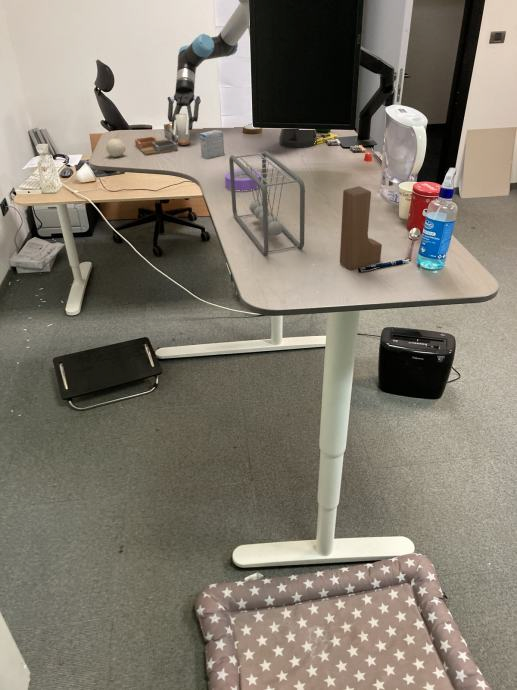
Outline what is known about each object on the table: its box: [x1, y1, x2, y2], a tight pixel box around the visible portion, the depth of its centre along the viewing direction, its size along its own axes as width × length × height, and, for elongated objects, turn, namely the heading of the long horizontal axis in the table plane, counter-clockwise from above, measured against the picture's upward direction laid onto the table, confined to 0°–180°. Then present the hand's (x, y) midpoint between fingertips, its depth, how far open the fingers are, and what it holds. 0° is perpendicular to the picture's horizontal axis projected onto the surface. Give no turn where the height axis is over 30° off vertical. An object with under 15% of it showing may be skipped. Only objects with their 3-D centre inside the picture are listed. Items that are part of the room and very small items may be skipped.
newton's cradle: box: [228, 150, 306, 256], centre depth 141 cm, size 30×10×18 cm, turn 18°
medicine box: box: [199, 129, 225, 160], centre depth 206 cm, size 8×4×9 cm, turn 128°
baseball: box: [105, 138, 126, 158], centre depth 211 cm, size 7×7×7 cm
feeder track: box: [163, 122, 178, 143], centre depth 231 cm, size 11×6×5 cm, turn 24°
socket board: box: [134, 136, 178, 156], centre depth 220 cm, size 17×13×3 cm
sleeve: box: [175, 113, 191, 146], centre depth 219 cm, size 5×5×11 cm
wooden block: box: [339, 186, 383, 271], centre depth 124 cm, size 9×4×18 cm, turn 119°
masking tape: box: [224, 169, 261, 192], centre depth 178 cm, size 12×12×4 cm
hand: (181, 136), depth 218 cm, fingers closed on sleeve, 4 cm apart
